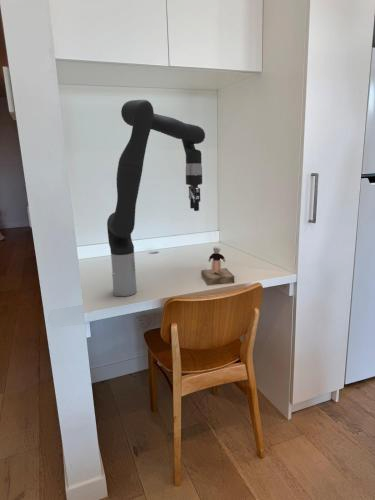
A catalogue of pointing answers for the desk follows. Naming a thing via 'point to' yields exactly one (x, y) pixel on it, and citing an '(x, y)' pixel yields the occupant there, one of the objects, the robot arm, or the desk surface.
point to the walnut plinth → (217, 277)
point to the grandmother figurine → (216, 260)
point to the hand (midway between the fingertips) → (194, 209)
